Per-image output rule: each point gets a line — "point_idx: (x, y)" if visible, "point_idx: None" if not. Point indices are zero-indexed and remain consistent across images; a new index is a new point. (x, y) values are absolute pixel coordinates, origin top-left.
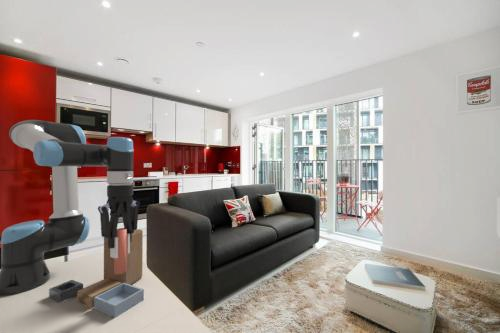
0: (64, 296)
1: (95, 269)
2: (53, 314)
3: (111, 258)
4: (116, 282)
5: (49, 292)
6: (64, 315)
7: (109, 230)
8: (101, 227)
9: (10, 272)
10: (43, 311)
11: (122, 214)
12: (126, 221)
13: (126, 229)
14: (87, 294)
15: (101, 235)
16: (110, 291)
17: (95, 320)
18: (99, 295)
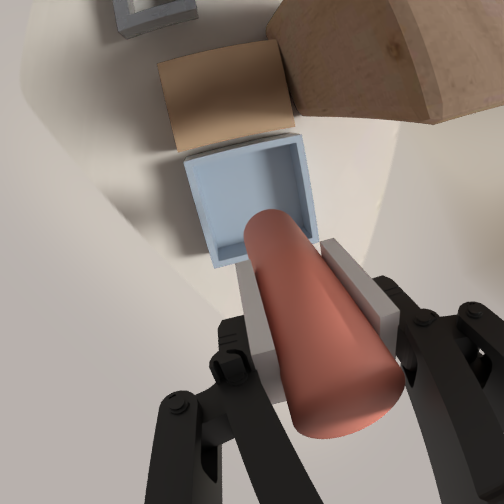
0: (135, 31)
1: None
2: (97, 99)
3: (312, 38)
4: (283, 110)
5: None
6: (116, 128)
7: (217, 482)
8: (152, 485)
9: None
10: (84, 61)
11: (472, 500)
12: (434, 448)
13: (382, 412)
14: (172, 120)
15: (159, 408)
16: (242, 153)
17: (172, 224)
18: (200, 162)
